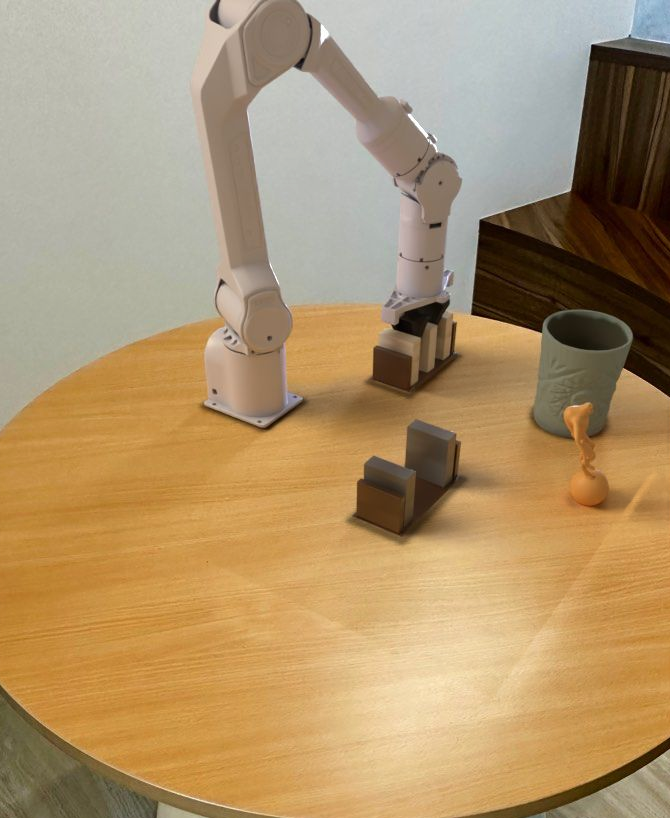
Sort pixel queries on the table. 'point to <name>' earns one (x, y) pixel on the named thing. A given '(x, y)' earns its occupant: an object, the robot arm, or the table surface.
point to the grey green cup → (579, 367)
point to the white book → (428, 348)
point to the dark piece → (411, 355)
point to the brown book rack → (409, 479)
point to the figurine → (585, 459)
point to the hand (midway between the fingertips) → (414, 355)
